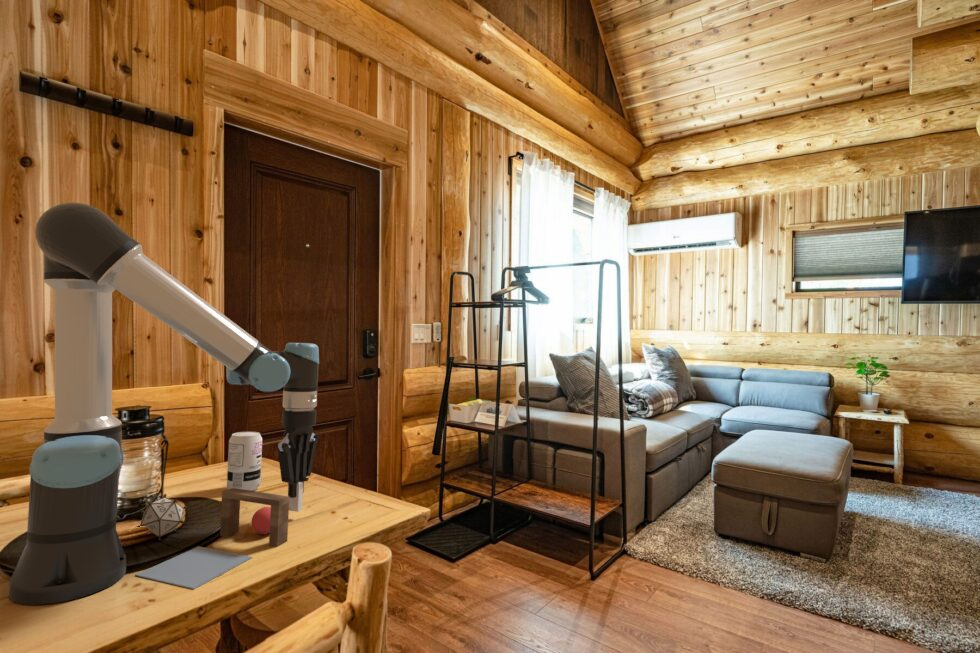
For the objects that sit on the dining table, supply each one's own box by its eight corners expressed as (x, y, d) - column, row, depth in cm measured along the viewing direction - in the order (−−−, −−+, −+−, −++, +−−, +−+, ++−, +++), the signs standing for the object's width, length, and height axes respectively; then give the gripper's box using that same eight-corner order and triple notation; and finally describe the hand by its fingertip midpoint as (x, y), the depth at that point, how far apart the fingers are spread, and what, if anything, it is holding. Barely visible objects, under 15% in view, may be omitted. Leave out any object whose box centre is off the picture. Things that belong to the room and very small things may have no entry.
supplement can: (227, 486, 140) (229, 431, 141) (259, 483, 144) (262, 430, 144) (225, 494, 133) (228, 437, 133) (260, 491, 137) (262, 436, 137)
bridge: (277, 546, 102) (279, 500, 102) (219, 535, 106) (222, 491, 107) (287, 541, 105) (289, 496, 105) (231, 530, 109) (233, 487, 109)
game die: (171, 553, 106) (201, 516, 106) (128, 550, 99) (160, 511, 99) (164, 521, 112) (192, 486, 111) (123, 517, 105) (153, 480, 105)
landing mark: (193, 589, 84) (193, 588, 84) (135, 575, 88) (135, 574, 88) (251, 558, 97) (252, 556, 97) (198, 547, 100) (198, 546, 100)
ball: (273, 505, 107) (288, 511, 112) (252, 502, 109) (267, 509, 113) (263, 532, 104) (278, 538, 109) (241, 529, 106) (257, 535, 110)
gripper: (294, 413, 111) (289, 521, 111) (330, 406, 124) (325, 503, 123) (266, 410, 114) (261, 516, 113) (304, 404, 126) (299, 499, 125)
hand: (295, 510), depth 118 cm, fingers closed
